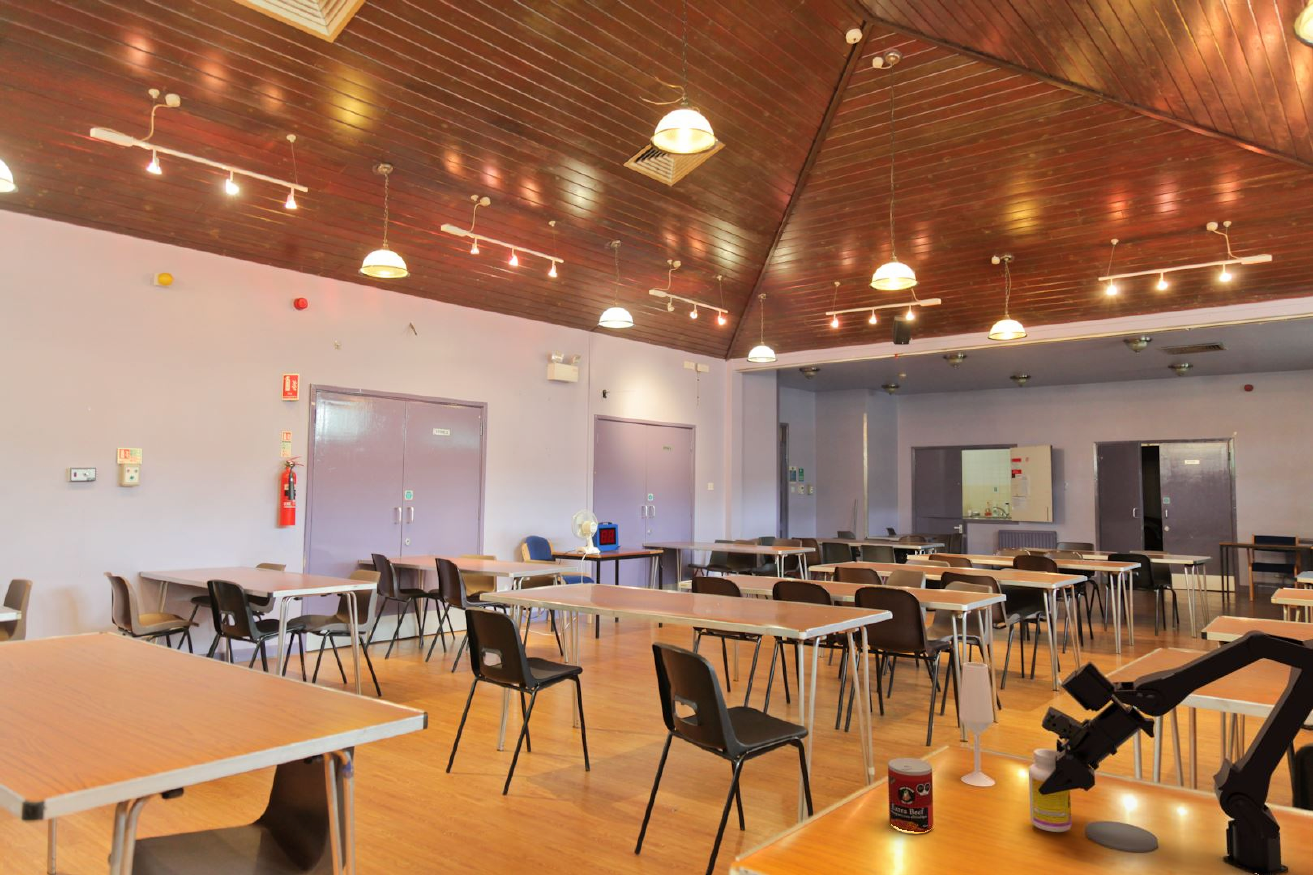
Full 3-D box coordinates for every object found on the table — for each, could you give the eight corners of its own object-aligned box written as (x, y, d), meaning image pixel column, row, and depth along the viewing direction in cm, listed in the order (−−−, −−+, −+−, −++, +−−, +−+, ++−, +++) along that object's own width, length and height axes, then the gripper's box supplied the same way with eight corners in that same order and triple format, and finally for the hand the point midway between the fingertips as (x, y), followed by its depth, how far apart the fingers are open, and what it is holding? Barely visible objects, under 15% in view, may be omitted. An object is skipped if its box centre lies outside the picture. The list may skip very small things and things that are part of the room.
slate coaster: (1173, 846, 141) (1172, 841, 141) (1126, 856, 137) (1126, 851, 137) (1116, 821, 151) (1116, 817, 151) (1071, 830, 147) (1071, 826, 147)
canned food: (884, 830, 147) (883, 767, 148) (894, 814, 154) (893, 754, 155) (929, 838, 144) (927, 774, 144) (936, 822, 151) (935, 761, 152)
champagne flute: (971, 772, 177) (968, 659, 178) (1001, 781, 172) (998, 665, 173) (954, 779, 173) (952, 664, 174) (984, 788, 167) (981, 669, 169)
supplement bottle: (1076, 834, 143) (1073, 760, 144) (1035, 832, 145) (1033, 758, 145) (1065, 818, 150) (1062, 747, 150) (1026, 816, 151) (1024, 745, 152)
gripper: (1070, 683, 155) (1009, 735, 159) (1069, 707, 139) (1001, 765, 143) (1120, 731, 151) (1056, 783, 155) (1125, 761, 134) (1053, 819, 139)
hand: (1041, 786), depth 148 cm, fingers closed on supplement bottle, 7 cm apart
